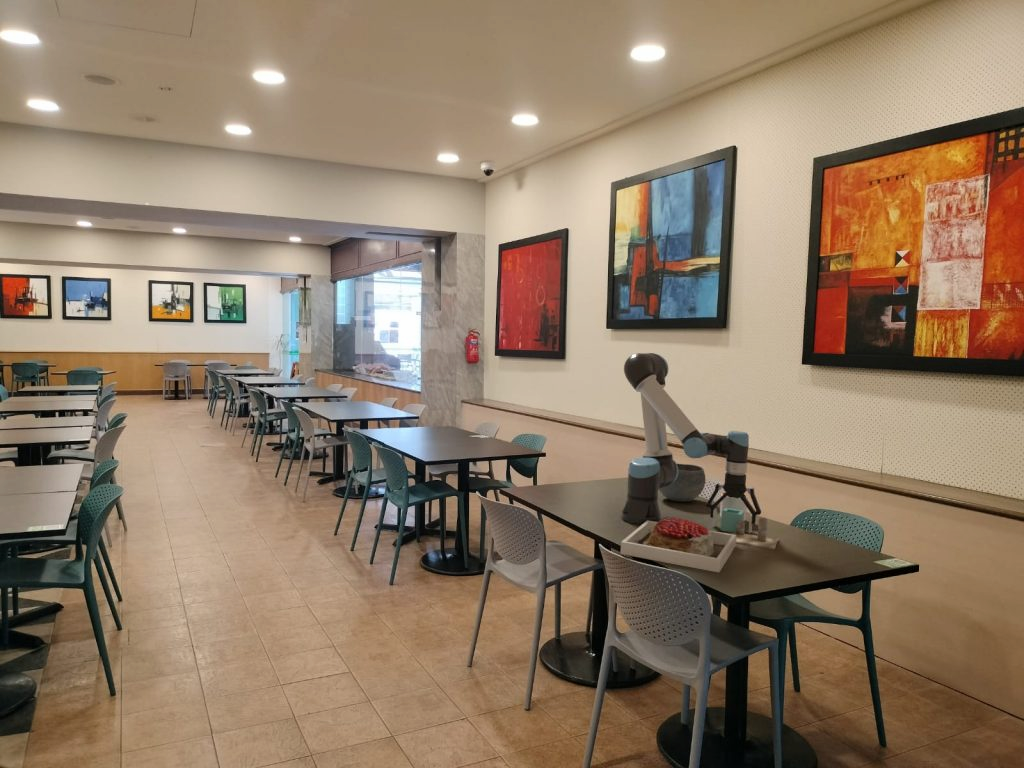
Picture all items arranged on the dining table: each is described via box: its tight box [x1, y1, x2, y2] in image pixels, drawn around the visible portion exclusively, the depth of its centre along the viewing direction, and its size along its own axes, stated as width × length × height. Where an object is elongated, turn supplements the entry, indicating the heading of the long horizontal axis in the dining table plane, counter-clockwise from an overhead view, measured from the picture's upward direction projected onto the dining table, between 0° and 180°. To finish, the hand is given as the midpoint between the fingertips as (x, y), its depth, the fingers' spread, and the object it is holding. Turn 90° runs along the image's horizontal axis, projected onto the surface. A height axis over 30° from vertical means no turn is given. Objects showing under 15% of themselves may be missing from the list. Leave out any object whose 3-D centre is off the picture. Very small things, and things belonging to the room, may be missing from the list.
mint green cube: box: [720, 508, 744, 533], centre depth 265 cm, size 7×7×7 cm
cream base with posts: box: [730, 517, 779, 550], centre depth 251 cm, size 16×12×9 cm
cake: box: [637, 517, 715, 557], centre depth 235 cm, size 23×24×10 cm
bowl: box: [658, 463, 706, 503], centre depth 308 cm, size 21×21×15 cm
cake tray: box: [620, 520, 737, 573], centre depth 237 cm, size 31×31×4 cm
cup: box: [719, 491, 749, 522], centre depth 279 cm, size 10×10×10 cm
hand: (731, 529), depth 265 cm, fingers open, 12 cm apart
